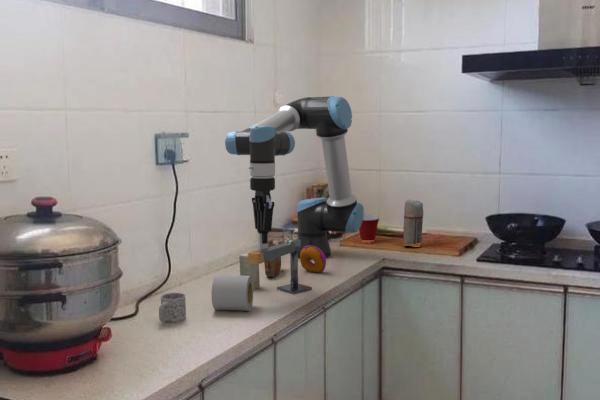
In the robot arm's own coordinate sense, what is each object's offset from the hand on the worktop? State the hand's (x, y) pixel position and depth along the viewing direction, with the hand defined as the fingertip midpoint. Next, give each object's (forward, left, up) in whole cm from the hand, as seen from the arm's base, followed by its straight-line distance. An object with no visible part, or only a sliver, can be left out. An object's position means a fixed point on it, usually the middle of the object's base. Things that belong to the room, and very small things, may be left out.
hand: (263, 253), depth 196 cm
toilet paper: (+14, +3, -14) cm, 20 cm away
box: (-4, -13, -14) cm, 19 cm away
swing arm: (-3, +2, -1) cm, 4 cm away
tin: (-21, -22, -14) cm, 33 cm away
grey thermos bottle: (-95, -18, -14) cm, 98 cm away
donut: (-33, -14, -14) cm, 38 cm away
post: (-13, -1, -14) cm, 19 cm away
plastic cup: (-88, -38, -14) cm, 97 cm away
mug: (+33, 0, -14) cm, 36 cm away
